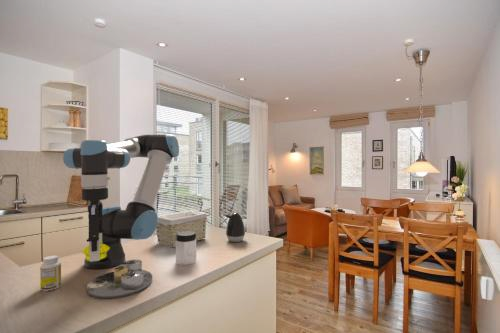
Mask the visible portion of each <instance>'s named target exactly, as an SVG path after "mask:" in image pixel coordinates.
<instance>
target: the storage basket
mask: <svg viewBox="0 0 500 333" xmlns="http://www.w3.org/2000/svg"><path fill="white" fill-rule="evenodd" d="M207 214H208V213H207V212H202V211H197V210H191V209H189V210H184V211H177V212H172V213H165V214H157V216H158V220H157V222H158V223H157V227H156V229H155V232H156V236H157V237H156V238H157V243H158V244H160V245H163V246H165V247H169V248H176V234H177V233H178V232H182V231H193V232H196V242H198V241H200V240H204V239H206V233H207V232H206V231H207V219H208V218H207V216H208V215H207Z"/></svg>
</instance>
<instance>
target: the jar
mask: <svg viewBox="0 0 500 333" xmlns="http://www.w3.org/2000/svg"><path fill="white" fill-rule="evenodd" d="M196 261H197V241H196V232H193V231H182V232H178V233H177V234H176V247H175V264H177V265H183V266H185V265H186V266H187V265H191V264H195V263H196Z"/></svg>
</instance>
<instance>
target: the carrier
mask: <svg viewBox="0 0 500 333" xmlns="http://www.w3.org/2000/svg"><path fill="white" fill-rule="evenodd" d="M152 283H153V274H152V273H151V272H150V271H149V270H145V269H143V261H142V259H130V260H125V261H124V262H123V263H121V264H120V265H118V266H117V267H115V268H113V271H110V272H107V273H104V274H101V275H99V276H97V277H95V278H93V279H92V280H90V282H88V284H87V285H86V293H87V295H88V296H89V297H91V298H93V299H99V300H113V299H114V300H115V299H119V298H121V299H122V298H125V297H129V296H132V295H135V294H138V293H140V292H143V291H144V290H146V289H147V288H148V287H149V286H151V285H152Z"/></svg>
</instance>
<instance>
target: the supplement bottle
mask: <svg viewBox="0 0 500 333" xmlns="http://www.w3.org/2000/svg"><path fill="white" fill-rule="evenodd" d="M39 268H40V269H39V270H40V276H39V277H40V290H41V291H42V290H43V292H49V291H48V290H51V291H54V290H57V289H58V288H61V285H62V262H61V260H59V256H58V255H50V256H49V255H48V256H45V257H44V258H43V259H42V264H41V265H40V267H39ZM53 289H54V290H53Z"/></svg>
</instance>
